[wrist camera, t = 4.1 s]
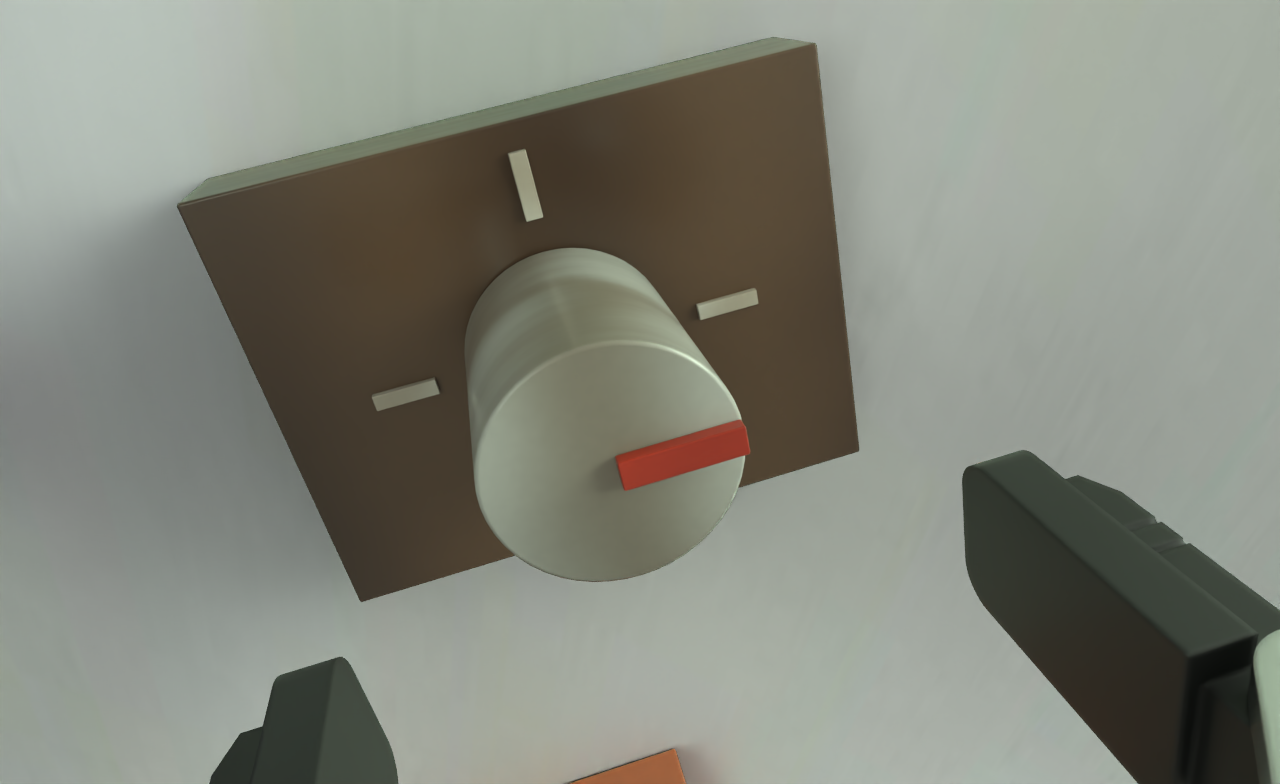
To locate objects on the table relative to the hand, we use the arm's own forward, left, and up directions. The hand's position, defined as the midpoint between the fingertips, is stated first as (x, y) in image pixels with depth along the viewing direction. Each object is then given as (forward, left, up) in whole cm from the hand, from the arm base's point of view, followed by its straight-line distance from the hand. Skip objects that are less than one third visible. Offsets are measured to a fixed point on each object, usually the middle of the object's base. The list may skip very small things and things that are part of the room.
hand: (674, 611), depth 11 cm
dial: (0, 0, -9) cm, 9 cm away
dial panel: (0, 0, -12) cm, 12 cm away
